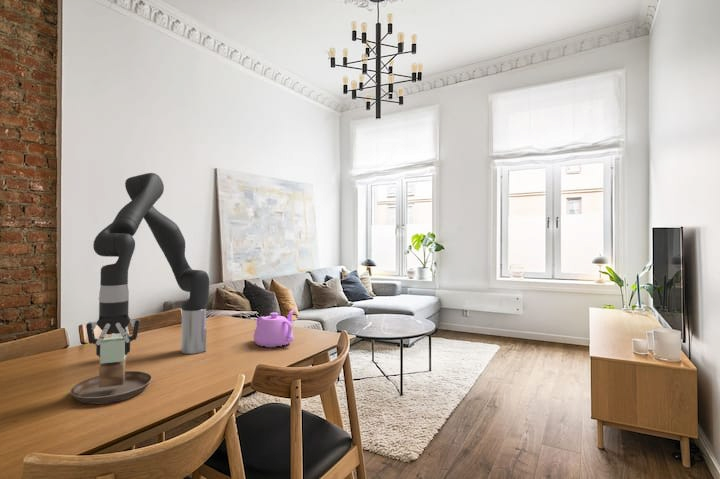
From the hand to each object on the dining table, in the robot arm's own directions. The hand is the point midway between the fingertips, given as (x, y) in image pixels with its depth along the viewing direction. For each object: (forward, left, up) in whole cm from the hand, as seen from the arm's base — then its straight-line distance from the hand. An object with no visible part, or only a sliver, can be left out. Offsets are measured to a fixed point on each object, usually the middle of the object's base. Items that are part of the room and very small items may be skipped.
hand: (113, 355), depth 120 cm
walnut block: (0, 0, -8) cm, 8 cm away
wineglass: (+2, -37, -11) cm, 39 cm away
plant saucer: (0, 0, -12) cm, 12 cm away
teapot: (-59, -37, -11) cm, 70 cm away
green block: (0, 0, -1) cm, 1 cm away
